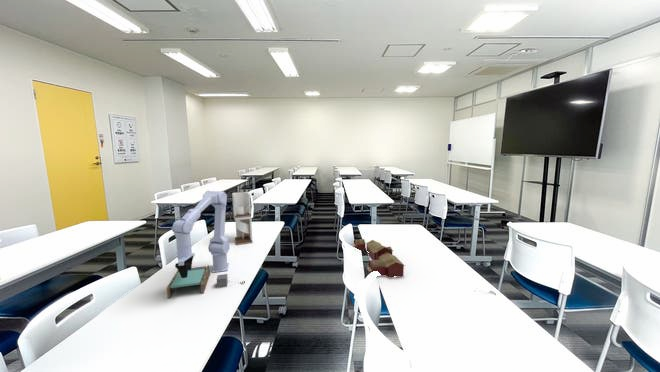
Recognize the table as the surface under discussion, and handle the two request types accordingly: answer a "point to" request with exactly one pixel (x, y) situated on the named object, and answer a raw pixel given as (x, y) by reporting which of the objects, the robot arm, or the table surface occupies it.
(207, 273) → the frame
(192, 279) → the trapdoor
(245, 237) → the display case
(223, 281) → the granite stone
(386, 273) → the toy houses
